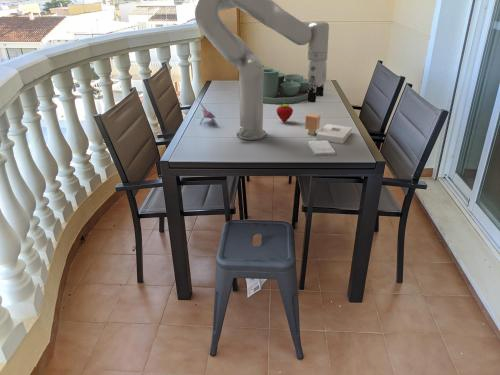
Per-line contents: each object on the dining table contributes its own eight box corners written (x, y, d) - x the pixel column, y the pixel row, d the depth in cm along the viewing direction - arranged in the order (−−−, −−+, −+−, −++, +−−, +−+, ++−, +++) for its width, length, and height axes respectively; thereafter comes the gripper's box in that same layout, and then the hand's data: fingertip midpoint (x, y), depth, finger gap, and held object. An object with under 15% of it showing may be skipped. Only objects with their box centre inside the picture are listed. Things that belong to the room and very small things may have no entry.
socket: (342, 143, 162) (343, 137, 161) (316, 139, 167) (316, 133, 165) (351, 133, 173) (351, 127, 172) (326, 129, 178) (327, 123, 176)
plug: (316, 135, 170) (317, 117, 167) (304, 134, 172) (305, 116, 169) (318, 133, 174) (320, 115, 170) (307, 131, 176) (309, 113, 172)
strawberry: (292, 124, 184) (293, 103, 179) (275, 123, 185) (276, 102, 180) (292, 120, 189) (293, 99, 184) (276, 119, 190) (277, 98, 185)
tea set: (320, 102, 216) (323, 71, 208) (247, 106, 211) (246, 74, 203) (300, 85, 251) (302, 57, 243) (237, 88, 245) (236, 60, 238)
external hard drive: (327, 144, 164) (335, 156, 153) (307, 144, 163) (314, 156, 152) (328, 140, 163) (336, 152, 152) (308, 140, 162) (314, 152, 151)
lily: (215, 131, 180) (222, 110, 179) (190, 121, 178) (197, 100, 177) (214, 130, 192) (221, 111, 190) (190, 121, 190) (198, 101, 188)
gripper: (319, 60, 150) (317, 105, 158) (333, 52, 163) (330, 94, 171) (300, 59, 153) (299, 103, 161) (315, 51, 166) (313, 93, 174)
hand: (315, 98), depth 166 cm, fingers open, 9 cm apart
